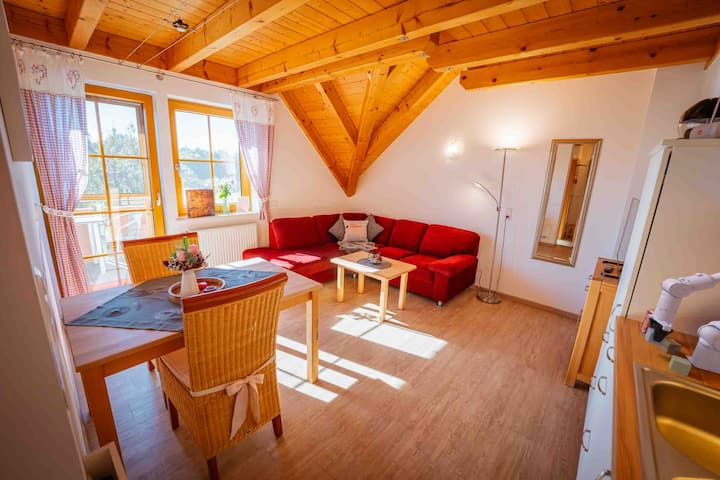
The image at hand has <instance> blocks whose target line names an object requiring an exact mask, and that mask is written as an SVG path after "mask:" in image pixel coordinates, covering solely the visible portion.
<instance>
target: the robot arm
mask: <svg viewBox="0 0 720 480" xmlns="http://www.w3.org/2000/svg"><path fill="white" fill-rule="evenodd" d="M717 284H720V272H717V273H713V274H708V273H704V272H703V273H700V272H697V273H694V274H693V275H689V276H685V277H682V276H680V277H678V278H668V279H665V280H664V281H663V282H661V283H660V287H661V289H662V290H661V294H660V296H659V299H658V301H657V304H656V307H655V308H654V309H655V311H654V314H653V315H651V314H649V320H650V328H653V329H654V334H653V341H656V342H659V343H660V342H661V341H662V340H663V339H664V338H665V337H666V336H667V337H668V335H670V334H672V333H674V329H673V327H672V326H673V325H674V321H675V318H676V315H677V314H678V311H679V309H680V305H681V304H682V301H683V298H686V297H688V296H690V294H692V293H695V292H696V293H697V292H700V291H705V290H709V289H714V288H715V286H716V285H717ZM697 335H698V342H697V345H696V346H695V349H694V351H693V354H692V356H691V355H687V354H686V355H685V357H686V359H687V360H689V361H690V363H691V365H693V367H695V368H697V369H701V370H705V371H707V372H712V373H714V374H715V373H716V374H718V375H720V320H714V321H713V320H712V321H710V322H709V323H708V324H704V325H701V326H700V327H699V328H698V329H697ZM667 337H666V338H667Z"/></svg>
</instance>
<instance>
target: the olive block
mask: <svg viewBox="0 0 720 480" xmlns="http://www.w3.org/2000/svg"><path fill="white" fill-rule="evenodd" d="M668 367H669V371H672V372H674V373H677V374H680V375H682V376H685V377H688V375H689V373H690V370H691V369H692V363H691V362H690V361H689V360H688V358H684V357H681V356H677V355H676V354H672V356H671V359H670V361H669V363H668Z"/></svg>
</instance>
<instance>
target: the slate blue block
mask: <svg viewBox="0 0 720 480" xmlns="http://www.w3.org/2000/svg"><path fill="white" fill-rule="evenodd" d="M653 334H654V329H653V328H648V330H647V333H646V335H644V338H645V341H647V343H650V344H653V345H656V346H657V345H660V346H663V345H664V342H665V340H666V338H667V337H668V335H667V336H666V337H665V338H664V339H663V340H662V341H661V342H660V343H659V342H656V341H653Z"/></svg>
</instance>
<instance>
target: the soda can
mask: <svg viewBox="0 0 720 480" xmlns="http://www.w3.org/2000/svg"><path fill="white" fill-rule="evenodd" d="M655 309H656V308H649V309H648V310H647V311H646V313H645V316H644V319H643V321H642V324H641V327H640V329H639V332H640V334H642V335H643V334H644V336H645V335H646V333H647V330H648V328H650V320H649V314H651V315H653V314H654V311H655Z"/></svg>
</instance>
